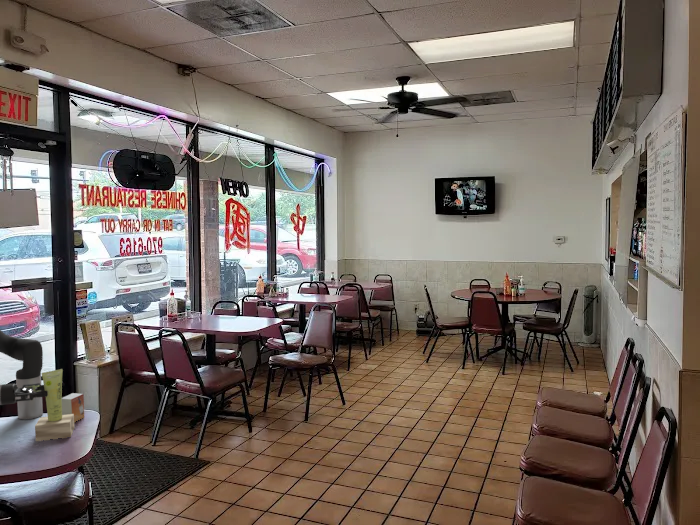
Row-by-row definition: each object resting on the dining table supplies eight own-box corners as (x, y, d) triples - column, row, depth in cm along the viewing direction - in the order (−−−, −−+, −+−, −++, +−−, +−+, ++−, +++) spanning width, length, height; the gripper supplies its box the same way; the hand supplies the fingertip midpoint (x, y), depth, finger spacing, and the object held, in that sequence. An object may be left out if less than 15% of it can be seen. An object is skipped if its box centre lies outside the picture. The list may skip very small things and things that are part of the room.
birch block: (41, 432, 224) (40, 417, 224) (74, 428, 228) (73, 413, 227) (35, 441, 215) (34, 426, 214) (70, 437, 218) (69, 422, 218)
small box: (72, 424, 232) (70, 399, 231) (60, 423, 233) (58, 398, 233) (85, 417, 240) (83, 393, 239) (73, 416, 241) (72, 392, 240)
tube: (56, 422, 218) (54, 372, 216) (43, 422, 218) (41, 372, 217) (65, 417, 223) (62, 368, 222) (52, 417, 224) (50, 368, 222)
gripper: (-4, 390, 207) (45, 385, 213) (5, 379, 221) (52, 375, 226) (-3, 410, 208) (46, 405, 213) (7, 398, 221) (53, 394, 227)
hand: (49, 390), depth 220 cm, fingers open, 8 cm apart
